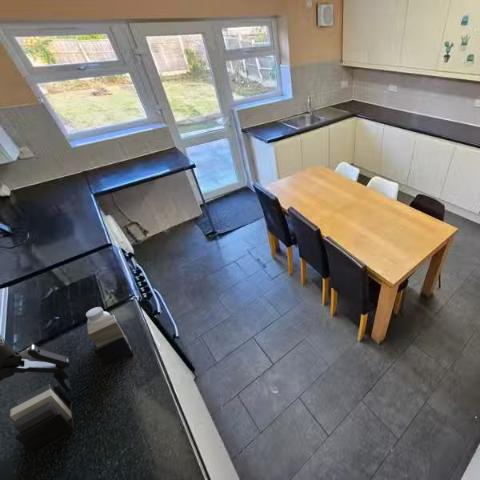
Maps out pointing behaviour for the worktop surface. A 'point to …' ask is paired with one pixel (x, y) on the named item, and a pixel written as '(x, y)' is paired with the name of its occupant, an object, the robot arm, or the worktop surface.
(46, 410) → the grey rack
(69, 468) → the worktop surface
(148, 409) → the worktop surface
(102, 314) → the supplement bottle
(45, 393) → the cream book
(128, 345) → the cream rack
